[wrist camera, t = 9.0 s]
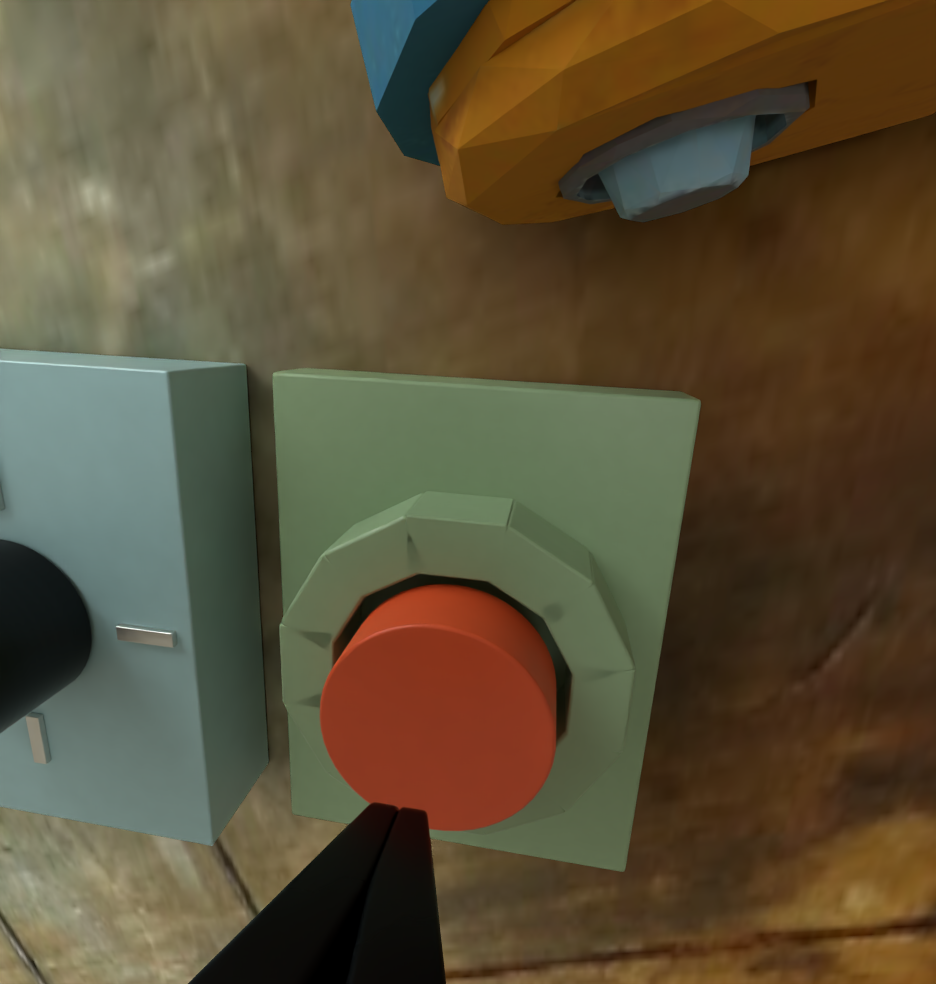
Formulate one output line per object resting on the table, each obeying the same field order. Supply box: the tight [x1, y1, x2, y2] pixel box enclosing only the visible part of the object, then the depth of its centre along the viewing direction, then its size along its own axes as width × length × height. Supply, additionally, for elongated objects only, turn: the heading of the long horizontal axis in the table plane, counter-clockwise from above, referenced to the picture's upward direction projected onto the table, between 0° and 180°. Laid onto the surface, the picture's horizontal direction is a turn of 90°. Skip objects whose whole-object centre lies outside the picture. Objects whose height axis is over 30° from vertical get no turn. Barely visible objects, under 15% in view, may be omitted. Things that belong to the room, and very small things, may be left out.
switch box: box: [273, 368, 701, 872], centre depth 13 cm, size 9×12×4 cm
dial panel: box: [0, 349, 269, 846], centre depth 15 cm, size 9×12×3 cm
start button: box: [320, 584, 556, 831], centre depth 11 cm, size 4×4×2 cm
